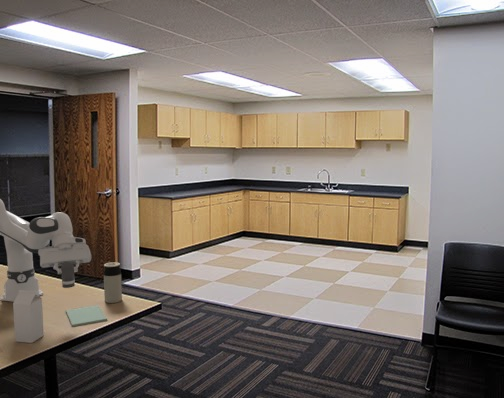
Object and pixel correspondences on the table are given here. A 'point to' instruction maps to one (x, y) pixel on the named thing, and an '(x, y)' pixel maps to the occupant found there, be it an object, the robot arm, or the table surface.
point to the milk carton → (28, 317)
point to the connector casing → (67, 275)
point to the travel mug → (112, 282)
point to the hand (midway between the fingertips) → (67, 272)
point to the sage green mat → (86, 315)
